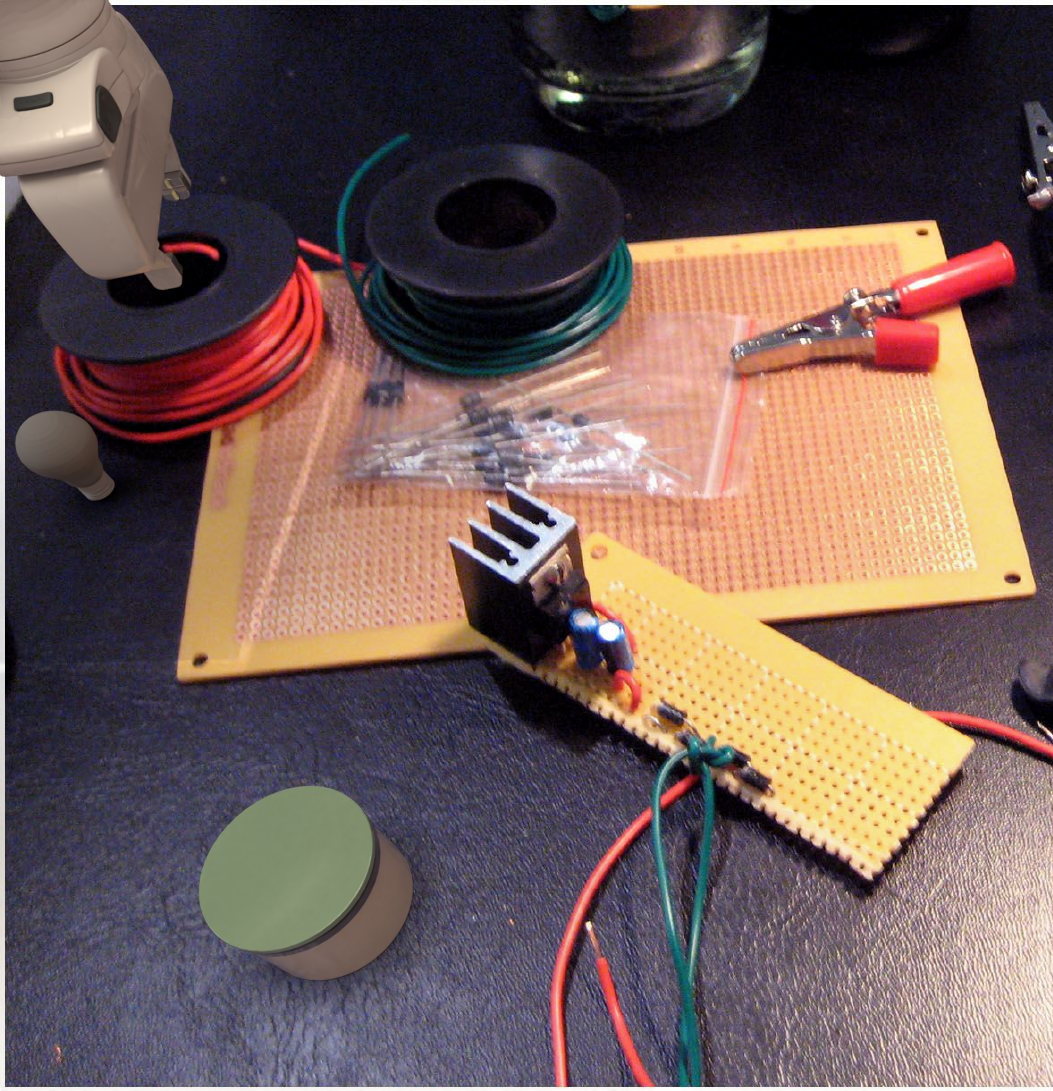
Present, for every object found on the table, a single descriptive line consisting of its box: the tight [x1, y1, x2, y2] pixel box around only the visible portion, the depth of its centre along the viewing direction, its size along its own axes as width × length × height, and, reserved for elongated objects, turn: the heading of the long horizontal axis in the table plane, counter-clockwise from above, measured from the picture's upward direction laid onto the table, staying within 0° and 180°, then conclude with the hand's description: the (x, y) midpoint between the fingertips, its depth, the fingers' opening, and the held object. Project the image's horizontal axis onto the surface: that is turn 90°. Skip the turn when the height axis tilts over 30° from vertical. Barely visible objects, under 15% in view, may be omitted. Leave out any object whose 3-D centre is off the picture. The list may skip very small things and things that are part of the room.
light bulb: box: [14, 410, 115, 501], centre depth 108 cm, size 6×6×10 cm
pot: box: [198, 785, 414, 981], centre depth 86 cm, size 12×12×9 cm
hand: (176, 236), depth 85 cm, fingers open, 8 cm apart
